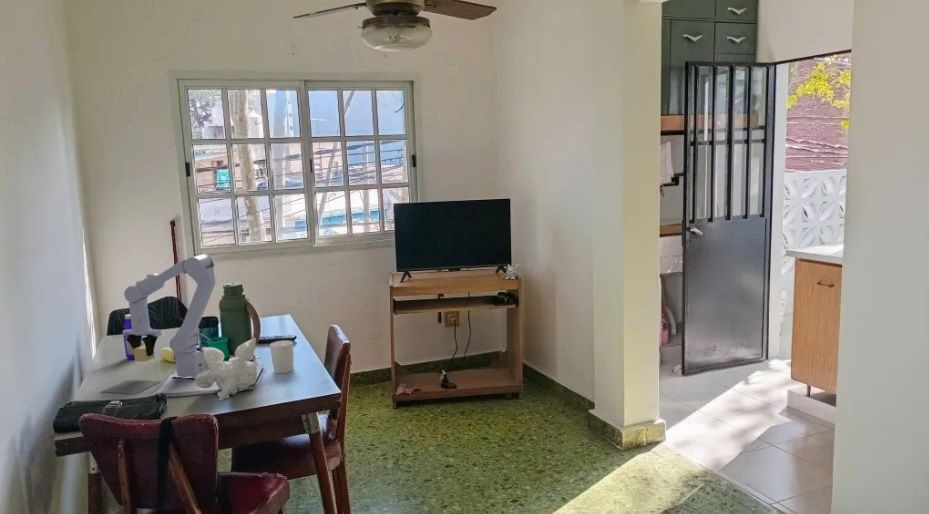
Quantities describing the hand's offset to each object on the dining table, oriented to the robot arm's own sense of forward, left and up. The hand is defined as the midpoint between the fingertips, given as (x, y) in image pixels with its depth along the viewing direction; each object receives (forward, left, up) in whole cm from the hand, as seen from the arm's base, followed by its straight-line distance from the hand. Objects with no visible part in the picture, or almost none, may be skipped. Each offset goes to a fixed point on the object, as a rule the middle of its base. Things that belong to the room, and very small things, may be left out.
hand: (144, 355), depth 235 cm
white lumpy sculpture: (-41, +10, -8) cm, 43 cm away
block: (0, 0, -2) cm, 2 cm away
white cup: (-48, -12, -8) cm, 50 cm away
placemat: (-3, +11, -8) cm, 14 cm away
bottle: (+23, -21, -8) cm, 32 cm away
